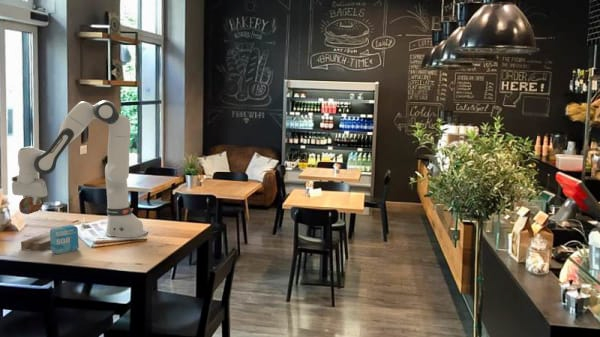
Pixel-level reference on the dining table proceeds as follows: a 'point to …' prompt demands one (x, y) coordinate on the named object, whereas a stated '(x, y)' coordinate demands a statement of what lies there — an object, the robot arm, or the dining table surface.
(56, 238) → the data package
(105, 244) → the dining table surface
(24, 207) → the tin
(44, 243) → the walnut block
